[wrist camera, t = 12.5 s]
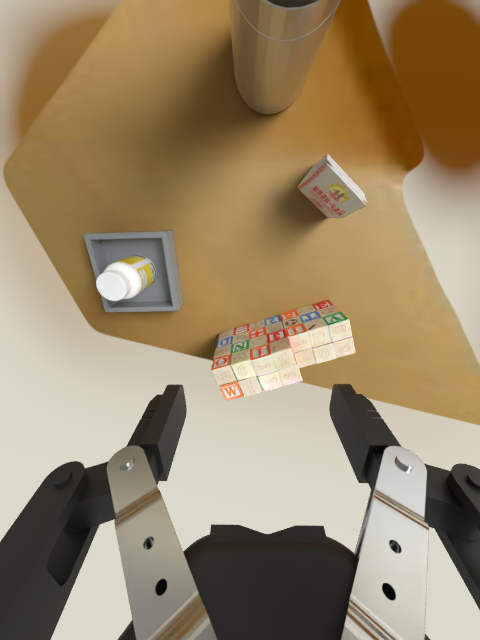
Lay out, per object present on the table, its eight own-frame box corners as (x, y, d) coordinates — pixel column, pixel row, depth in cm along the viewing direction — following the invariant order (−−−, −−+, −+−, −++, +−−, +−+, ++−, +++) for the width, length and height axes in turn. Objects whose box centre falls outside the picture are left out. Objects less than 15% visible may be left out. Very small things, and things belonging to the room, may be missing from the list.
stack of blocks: (328, 298, 42) (359, 327, 30) (335, 327, 44) (366, 365, 33) (218, 332, 45) (209, 371, 34) (230, 358, 47) (225, 402, 36)
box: (96, 232, 38) (83, 234, 34) (173, 230, 37) (166, 231, 34) (115, 305, 43) (105, 312, 40) (183, 303, 42) (178, 310, 39)
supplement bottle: (119, 270, 40) (82, 285, 31) (138, 247, 38) (104, 256, 29) (144, 292, 41) (116, 313, 32) (164, 271, 39) (139, 287, 30)
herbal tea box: (314, 164, 33) (340, 144, 24) (345, 197, 35) (381, 189, 26) (296, 187, 35) (314, 176, 25) (327, 218, 36) (355, 218, 27)
